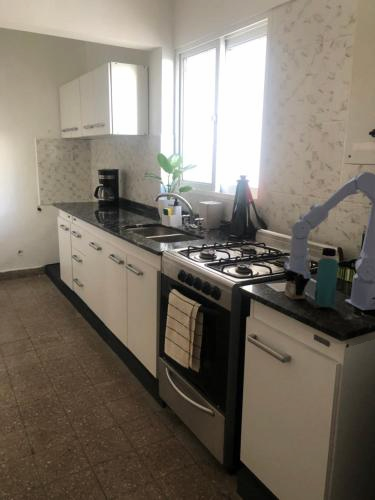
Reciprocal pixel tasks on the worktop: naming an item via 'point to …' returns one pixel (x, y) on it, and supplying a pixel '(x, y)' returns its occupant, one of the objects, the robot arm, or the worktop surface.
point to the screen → (310, 289)
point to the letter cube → (293, 290)
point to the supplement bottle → (308, 261)
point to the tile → (277, 287)
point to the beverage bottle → (326, 279)
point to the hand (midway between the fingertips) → (294, 292)
